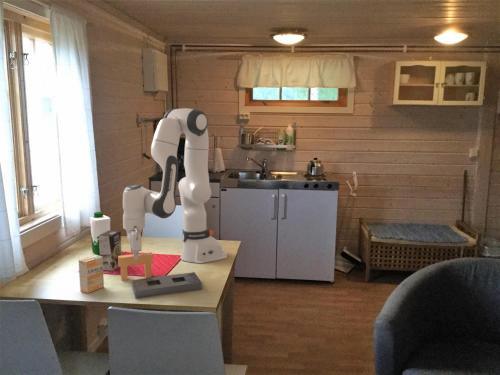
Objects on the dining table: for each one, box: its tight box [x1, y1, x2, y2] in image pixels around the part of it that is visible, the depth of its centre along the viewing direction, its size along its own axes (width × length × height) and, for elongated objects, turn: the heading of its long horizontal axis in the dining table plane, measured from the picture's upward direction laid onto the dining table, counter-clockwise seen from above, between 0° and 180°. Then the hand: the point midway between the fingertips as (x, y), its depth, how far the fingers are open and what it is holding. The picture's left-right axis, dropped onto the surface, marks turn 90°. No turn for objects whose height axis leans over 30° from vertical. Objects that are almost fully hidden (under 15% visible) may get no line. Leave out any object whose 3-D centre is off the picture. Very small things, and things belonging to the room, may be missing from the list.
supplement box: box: [78, 254, 105, 295], centre depth 183 cm, size 8×5×13 cm, turn 148°
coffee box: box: [99, 230, 123, 272], centre depth 208 cm, size 9×6×16 cm
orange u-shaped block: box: [118, 252, 154, 282], centre depth 196 cm, size 14×3×10 cm, turn 110°
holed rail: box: [131, 271, 203, 300], centre depth 185 cm, size 26×12×3 cm, turn 110°
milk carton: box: [89, 211, 111, 256], centre depth 228 cm, size 9×9×20 cm
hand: (134, 255), depth 195 cm, fingers open, 8 cm apart
